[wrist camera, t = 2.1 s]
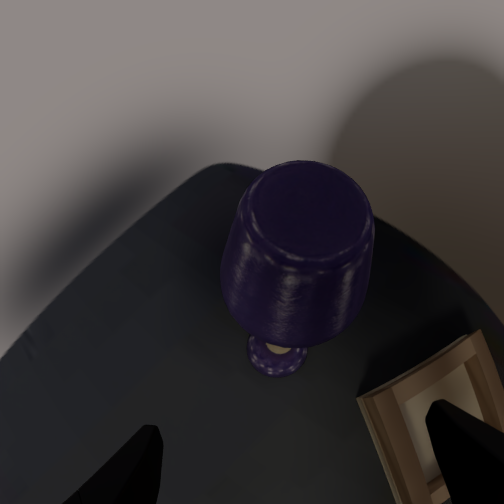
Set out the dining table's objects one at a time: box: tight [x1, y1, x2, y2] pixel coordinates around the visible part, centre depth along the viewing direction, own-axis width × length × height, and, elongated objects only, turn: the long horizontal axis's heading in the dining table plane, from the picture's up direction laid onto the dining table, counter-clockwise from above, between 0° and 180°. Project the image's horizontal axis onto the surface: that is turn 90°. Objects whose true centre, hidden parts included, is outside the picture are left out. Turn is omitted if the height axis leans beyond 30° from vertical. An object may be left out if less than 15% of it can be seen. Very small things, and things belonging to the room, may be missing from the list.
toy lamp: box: [220, 160, 375, 377], centre depth 14 cm, size 5×5×17 cm
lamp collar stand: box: [356, 329, 504, 504], centre depth 16 cm, size 11×11×3 cm
